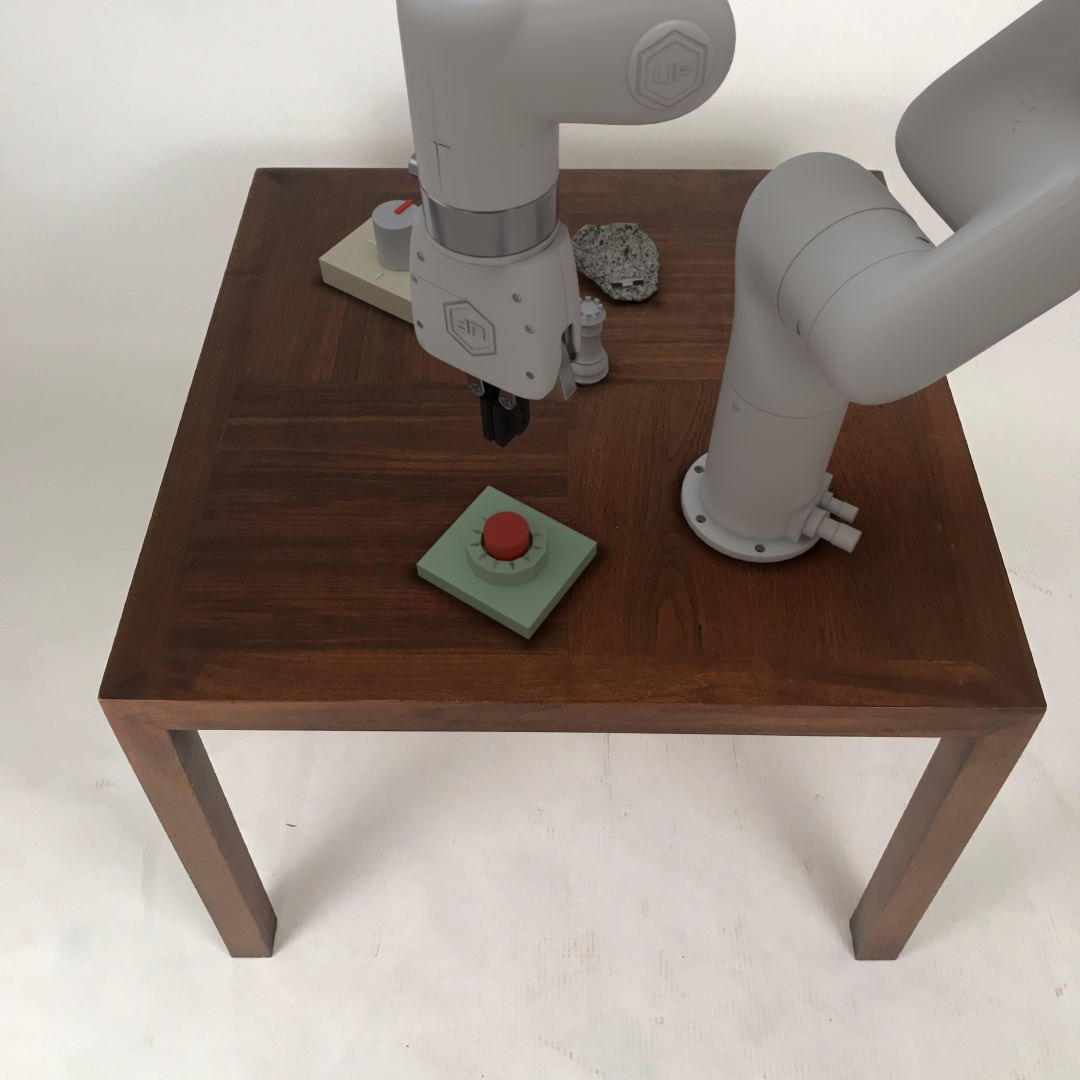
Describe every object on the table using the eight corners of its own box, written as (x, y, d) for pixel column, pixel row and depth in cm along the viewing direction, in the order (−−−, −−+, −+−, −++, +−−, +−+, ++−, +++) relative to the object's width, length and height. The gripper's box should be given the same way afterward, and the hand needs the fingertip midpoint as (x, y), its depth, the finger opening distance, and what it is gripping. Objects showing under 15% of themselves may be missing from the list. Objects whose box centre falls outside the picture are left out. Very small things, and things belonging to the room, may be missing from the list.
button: (538, 537, 79) (537, 524, 78) (512, 567, 77) (511, 554, 76) (501, 517, 80) (500, 504, 79) (475, 547, 78) (474, 534, 77)
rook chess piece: (604, 390, 93) (609, 324, 87) (558, 383, 94) (559, 318, 88) (611, 358, 96) (616, 292, 90) (566, 352, 97) (568, 286, 90)
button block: (596, 554, 82) (598, 528, 79) (528, 640, 77) (528, 616, 74) (489, 497, 86) (487, 471, 83) (418, 575, 81) (413, 550, 78)
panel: (487, 278, 103) (486, 253, 101) (429, 332, 98) (426, 307, 96) (384, 233, 108) (380, 208, 106) (323, 282, 103) (317, 257, 101)
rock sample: (613, 297, 95) (606, 205, 95) (564, 312, 101) (556, 226, 101) (688, 302, 102) (681, 216, 101) (636, 315, 108) (630, 234, 107)
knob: (405, 277, 99) (399, 232, 95) (369, 260, 100) (361, 215, 96) (435, 252, 101) (430, 207, 97) (398, 236, 103) (392, 191, 99)
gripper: (342, 192, 54) (389, 421, 69) (568, 286, 49) (566, 512, 64) (425, 128, 58) (453, 359, 73) (643, 210, 53) (626, 440, 68)
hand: (506, 430), depth 68 cm, fingers closed
